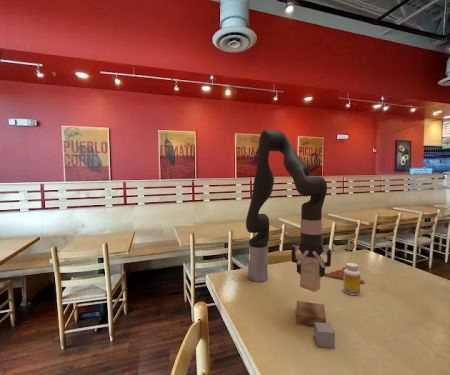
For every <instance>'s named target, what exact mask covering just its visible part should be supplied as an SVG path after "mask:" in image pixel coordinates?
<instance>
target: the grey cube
mask: <svg viewBox="0 0 450 375" xmlns="http://www.w3.org/2000/svg"><path fill="white" fill-rule="evenodd" d="M314 339H315V341H316V345H317V347H318V346H323V347H322V348H331V347H335V346H336V344H335V343H336V332H335V329H334V328H333V326H332V323H330V322H326V323H319V322H315V327H314Z"/></svg>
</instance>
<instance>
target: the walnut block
mask: <svg viewBox="0 0 450 375" xmlns="http://www.w3.org/2000/svg"><path fill="white" fill-rule="evenodd" d="M295 311H296V312H295V325H299V326H304V327H305V326H306V327H311V328H315V322H319V323H327V321H326V320H327V319H326V318H327V317H326V310H325V304H323V303H316V302H307V301H301V300H296V310H295Z"/></svg>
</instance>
